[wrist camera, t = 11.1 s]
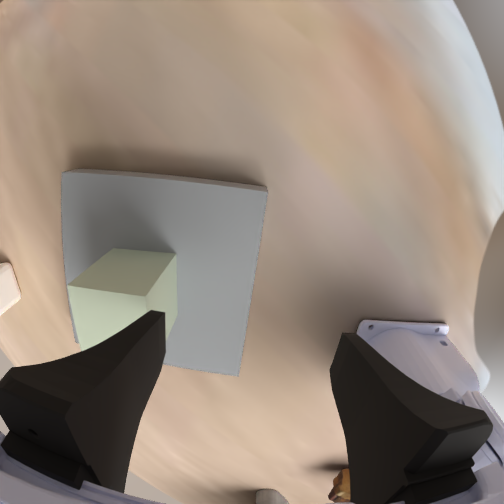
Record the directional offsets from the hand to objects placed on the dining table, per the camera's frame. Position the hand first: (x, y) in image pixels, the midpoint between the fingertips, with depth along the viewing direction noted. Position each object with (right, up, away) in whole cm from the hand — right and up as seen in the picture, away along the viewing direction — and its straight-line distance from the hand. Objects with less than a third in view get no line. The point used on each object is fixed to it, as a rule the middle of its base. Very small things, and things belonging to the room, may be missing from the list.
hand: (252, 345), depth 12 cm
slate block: (-7, +3, +11) cm, 13 cm away
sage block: (-7, +2, +8) cm, 11 cm away
